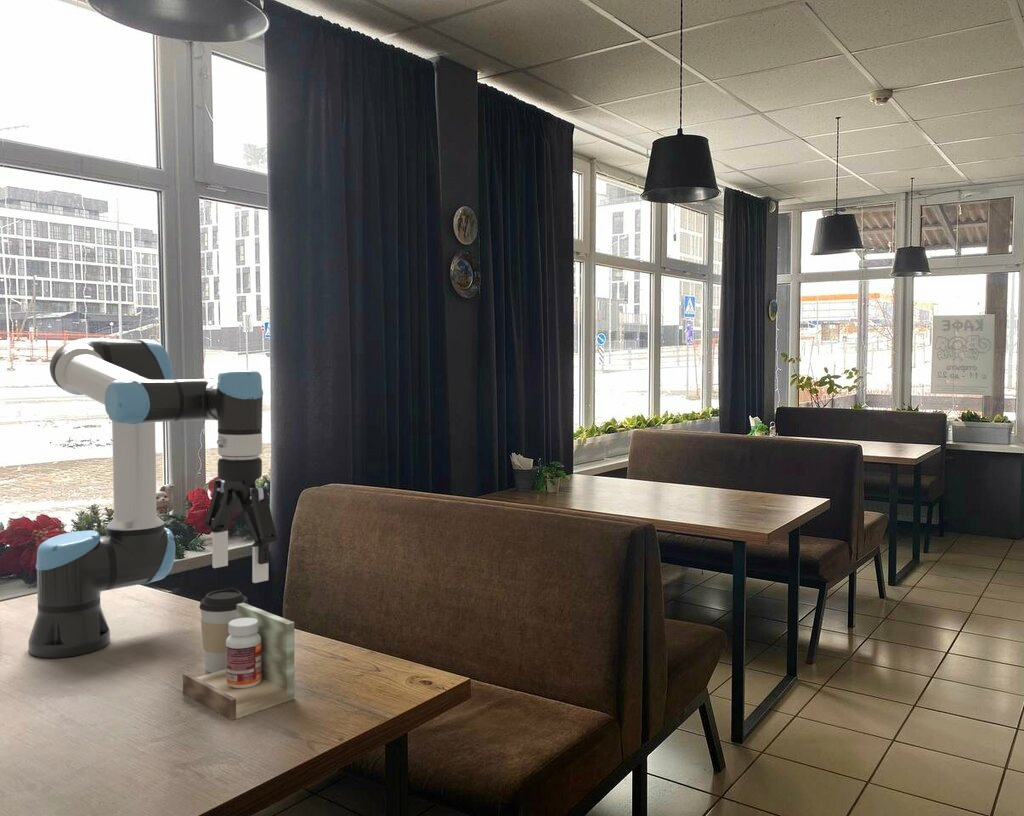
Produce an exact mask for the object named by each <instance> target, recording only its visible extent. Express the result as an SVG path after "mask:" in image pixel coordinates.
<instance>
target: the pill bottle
mask: <svg viewBox="0 0 1024 816" xmlns="http://www.w3.org/2000/svg"><path fill="white" fill-rule="evenodd" d="M257 631H258V620H257V619H254V618H238V619H234V620H232V621H230V622H229V624H228V633H229V634H230V636H229V637H228V638H227V639H226V683H227V685H228V686H229V687H232V688H249V687H253V686H255V685H257V684H258V683H260V681H261V679H262V663H261V657H262V656H261V636H260V635H259V634H258V633H256V632H257Z"/></svg>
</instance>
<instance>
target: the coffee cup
mask: <svg viewBox="0 0 1024 816" xmlns="http://www.w3.org/2000/svg"><path fill="white" fill-rule="evenodd" d="M199 603H200V604H199V609H200V615H201V618H200V625H201V637H202V648H203V652H204V662H205V670H206V672H208V673H210V674H211V673H214V672H217V671H221V670H224V669H226V639H227V638H228V637H229V636H230V634H229V633H228V624H229V622H230V621H232V620H234V619H237V604H240V603H246V604H248V605H249V602H248V597H247V596H246V595H243V593H242V591H240V590H239V589H238V588H236V587H228V588H224V589H220V590H213V591H210V592H208V593H206V594H205V596H204V597H203V598H202V599H201V600H200V602H199Z"/></svg>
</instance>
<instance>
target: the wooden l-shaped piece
mask: <svg viewBox="0 0 1024 816" xmlns="http://www.w3.org/2000/svg"><path fill="white" fill-rule="evenodd" d="M238 618H254V619H257V620H258V631H257V632H256V633H258V634H259V635H260V636H261V656H262V657H261V663H262V679H261V681H260V683H258V684H257V685H255V686H253V687H249V688H232V687H229V686H228V685H227V683H226V669H224V670H221V671H217V672H214V673H211V672H210V673H207V674H205V675H204V674H203V675H200V676H198V677H197V676H194V675H193V674H191V673H189V672H185V673H182V693H183V694H185V695H187V696H188V697H189V698H192V699H193V700H195V701H198V703H201V704H203V706H206V707H207V708H210V709H211V710H213V711H215V712H216V713H219V714H220V715H222V716H223V717H225V718H227V719H229V720H230V721H234V720H237V719H239V718H243V717H246V716H248V715H252V714H255V713H257V712H261V711H262V710H263V711H264V710H266V709H269V708H272V707H275V706H277V705H280V704H284V703H286V702H289V701H291V700H295V621H291V620H290V619H288V618H287V619H286V618H284V617H281V616H279V615H277V614H273V613H271V612H268V611H266V610H263V609H261V608H258V607H256V606H253V605H251V604H249V603H248V604H246V603H240V604H237V619H238Z"/></svg>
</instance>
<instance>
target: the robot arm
mask: <svg viewBox="0 0 1024 816" xmlns="http://www.w3.org/2000/svg"><path fill="white" fill-rule="evenodd" d="M49 363H50V364H49V373H50V376H51V379H52V381H53V382H54V384H56V386H58V387H59V388H60V389H62V390H63V391H65V392H67V393H69V394H72V395H75V396H83V395H84V396H85V397H86V396H87V397H88V398H90V399H91V400H94V401H96V402H98V403H101V405H104V409H105V412H106V414H107V415H108V418H109V420H110V421H111V424H112V425H111V427H112V428H111V430H112V431H111V432H112V434H111V435H112V473H113V474H112V478H113V479H112V481H113V485H112V486H113V489H112V490H113V518H112V520H111V521H109V522H108V523H107V524H106V535H102V536H101V535H100V533H99V532H98V531H97V530H96V531H95V530H91V529H90V530H87V529H85V530H81V531H79V530H77V531H72V532H66V533H61V534H58V535H55V536H53V537H50V538H48V539H46V540H45V541H42V542H41V543H40V544H39V546H38V547H37V551H36V563H35V569H36V585H37V586H36V587H37V588H36V589H37V591H36V593H37V597H36V598H37V614H36V618H35V620H34V623H33V626H32V629H31V632H30V635H29V638H28V645H27V646H28V653H29V654H30V655H32V656H34V657H38V658H45V659H46V658H49V659H50V658H51V659H53V658H54V659H55V658H56V659H58V658H67V657H74V656H75V657H76V656H80V655H85V654H88V653H92V652H95V651H97V650H100V649H103V648H104V647H106V646H107V645H108V644H110V642H111V630H110V627H109V623H108V621H107V619H106V615H104V611H103V609H102V606H101V593H102V592H105V591H110V590H116V589H120V588H127V587H133V586H138V585H148V584H150V583H153V582H157V581H160V580H163V579H165V578H166V577H167V576H168V574H169V573H170V572H171V570H172V568H173V565H174V562H175V558H176V543H175V542H176V541H175V540H174V538H175V536H174V535H173V533H172V530H171V529H169V528H167V527H165V521H164V520H163V519H161V518H160V516H158V514H157V513H158V512H157V510H158V509H157V467H156V466H157V464H156V463H157V462H156V458H157V457H156V456H157V455H156V454H157V453H156V450H157V449H156V423H161V422H164V423H165V422H166V423H167V422H189V421H217V435H218V436H217V440H216V444H217V454H218V455H219V457H220V458H218V460H217V477H218V479H215V480H214V482H213V492H212V496H211V500H210V503H209V506H208V511H207V514H206V516H205V520H204V526H205V527H209V530H210V532H212V533H211V534H212V535H211V536H212V538H211V539H212V545H211V548H212V552H211V553H212V554H211V555H212V556H211V557H212V560H211V561H212V562H211V563H212V568H213V569H217V568H222V567H228V566H229V530H228V529H230V528H229V527H228V523H229V522H230V520H231V518H232V516H233V514H234V512H235V511H236V510H238V511H239V513H241V514H242V515H243V516H244V519H245V521H246V523H247V526H248V528H249V531H250V533H251V536H252V539H253V540H254V542H253V544H252V545H251V546H252V549H251V550H252V552H251V553H252V564H251V565H252V567H251V568H252V571H251V573H252V575H251V577H252V578H251V581H252V583H254V584H257V583H261V582H266V581H269V565H270V564H269V562H270V545H271V544H273V543H277V542H278V535H277V531H276V527H275V523H274V520H273V516H272V512H271V508H270V504H269V501H268V489H267V487H266V486H262V487H257V486H256V485H257V484H256V481H257V480H259V479H260V478H261V477H262V475H263V473H262V472H263V459H262V458H261V457H259V456H261V455H262V454H263V432H262V431H263V430H262V429H263V395H264V391H263V380H262V378H263V377H262V375H261V373H260V372H259V371H257V370H243V369H241V370H237V369H236V370H234V369H233V370H232V369H230V370H229V369H227V370H226V369H225V370H221V371H220V372H219V373H218V375H217V379H216V378H211V377H209V378H206V377H205V378H203V377H202V378H198V379H192V378H191V379H173V378H174V375H173V365H172V361H171V359H170V356H169V353H168V351H166V349H165V347H164V346H163V345H162V344H161V343H160V342H158V341H156V340H151V339H150V340H149V339H141V338H140V339H139V338H96V337H87V338H86V337H85V338H78V339H74V340H72V341H70V342H68V343H67V342H66V344H63V345H62V346H61V347H59V348H58V349H57V350H56V351H55V352H54V353H53V355H52V357H51V360H50V362H49Z"/></svg>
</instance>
